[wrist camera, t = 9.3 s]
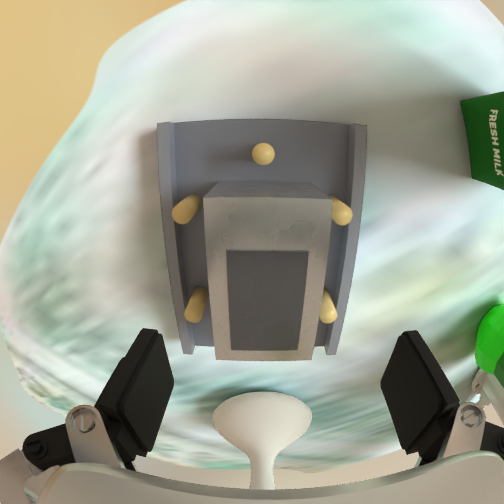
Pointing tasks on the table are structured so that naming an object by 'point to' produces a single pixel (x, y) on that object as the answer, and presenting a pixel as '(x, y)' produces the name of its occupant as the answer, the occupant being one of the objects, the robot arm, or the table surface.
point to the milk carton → (486, 137)
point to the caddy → (256, 169)
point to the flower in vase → (262, 429)
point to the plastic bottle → (491, 343)
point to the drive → (266, 267)
